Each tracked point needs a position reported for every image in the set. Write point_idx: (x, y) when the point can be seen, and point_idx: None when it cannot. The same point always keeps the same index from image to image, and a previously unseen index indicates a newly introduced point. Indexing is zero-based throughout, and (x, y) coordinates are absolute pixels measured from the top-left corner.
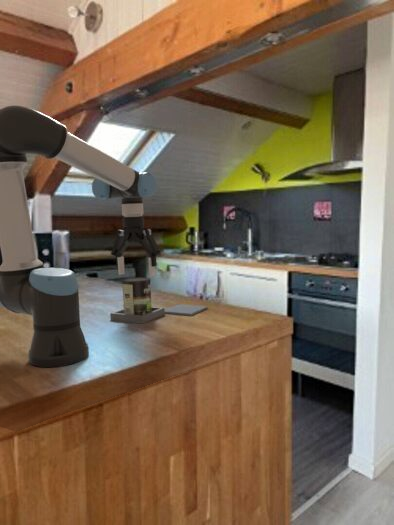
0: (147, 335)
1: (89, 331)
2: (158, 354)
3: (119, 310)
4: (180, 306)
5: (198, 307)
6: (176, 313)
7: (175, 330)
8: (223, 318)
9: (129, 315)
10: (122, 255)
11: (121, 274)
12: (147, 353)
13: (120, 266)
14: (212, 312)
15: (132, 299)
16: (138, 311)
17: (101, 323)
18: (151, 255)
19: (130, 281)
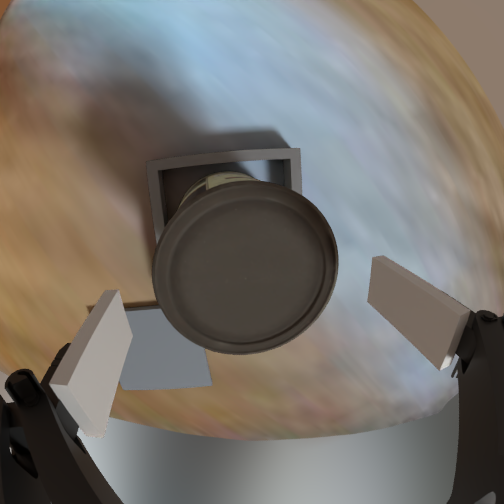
0: (63, 79)
1: (250, 24)
2: (2, 31)
3: None
4: (185, 370)
5: (132, 376)
6: (137, 308)
7: (29, 158)
8: (25, 317)
9: (207, 153)
10: (452, 376)
11: (371, 271)
12: (19, 18)
13: (406, 289)
14: None
15: (209, 181)
16: (190, 190)
17: (288, 102)
18: (6, 385)
19: (219, 187)
